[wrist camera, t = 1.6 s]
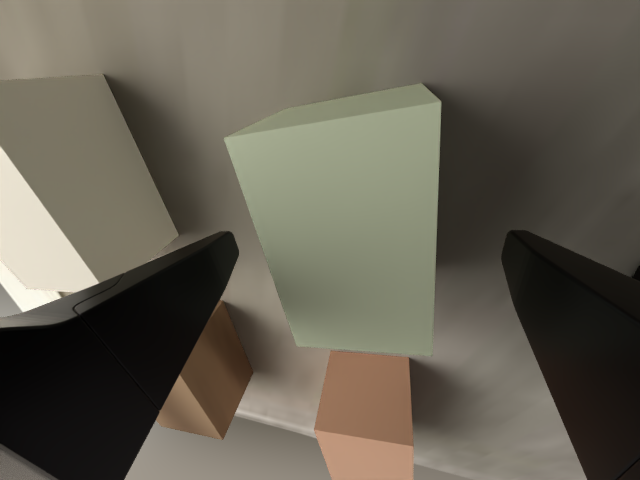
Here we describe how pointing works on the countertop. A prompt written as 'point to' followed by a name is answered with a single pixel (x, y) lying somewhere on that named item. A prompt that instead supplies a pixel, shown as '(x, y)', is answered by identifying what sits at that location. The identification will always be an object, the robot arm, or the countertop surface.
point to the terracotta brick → (366, 417)
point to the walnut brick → (209, 381)
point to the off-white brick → (73, 186)
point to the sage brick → (349, 216)
